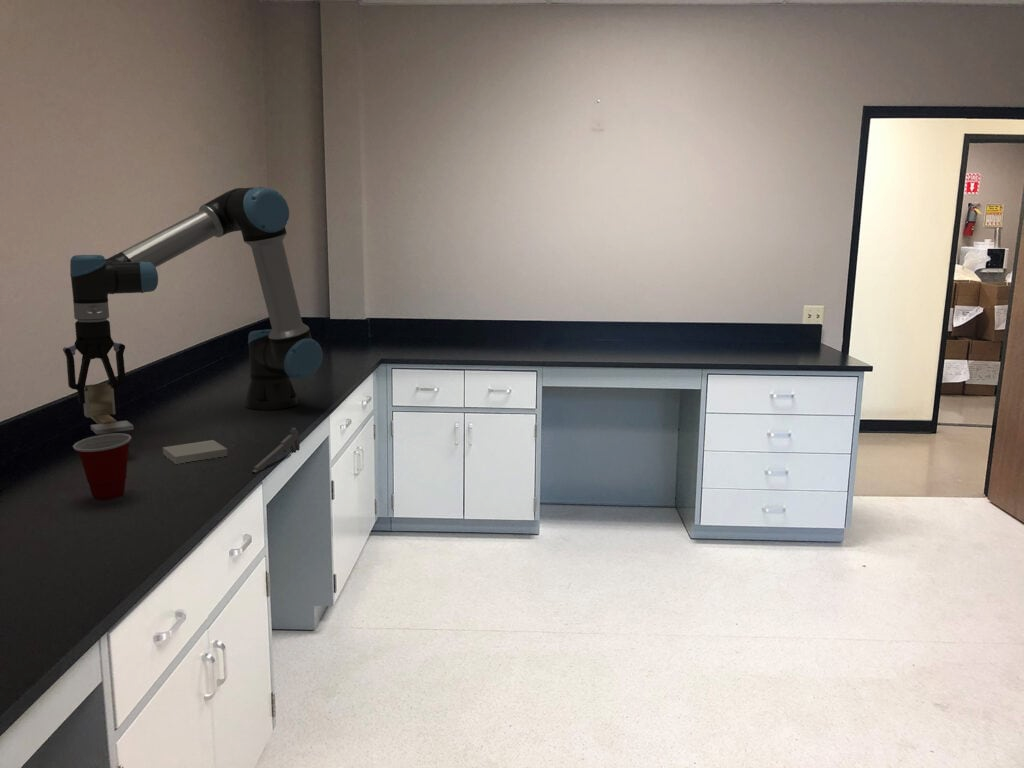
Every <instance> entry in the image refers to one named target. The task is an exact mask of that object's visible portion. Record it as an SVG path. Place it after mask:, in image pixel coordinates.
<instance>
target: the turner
mask: <svg viewBox="0 0 1024 768" xmlns="http://www.w3.org/2000/svg"><path fill="white" fill-rule="evenodd" d="M84 389H86V390H87V391H88V398H89V409H90V417H89V418H90V419H92V420H93V421H94V422H95V423H96V424H90V430H91V431H93V433H95V435H103V434H112V433H119V432H126V431H133V430H134V425H133V424H132V423H131V422H130V421H128V420H120V421H119V420H118V421H117V419H115V418H114V417H112V416H111V415H112V414H113V409H112V396H111V384H110V383H108V382H105V383H96V384H95V383H94V384H85V388H84ZM113 415H114V414H113Z"/></svg>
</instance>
